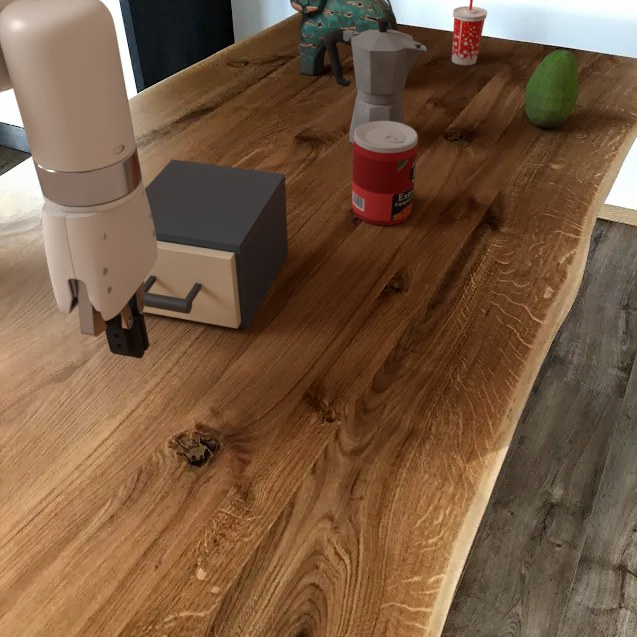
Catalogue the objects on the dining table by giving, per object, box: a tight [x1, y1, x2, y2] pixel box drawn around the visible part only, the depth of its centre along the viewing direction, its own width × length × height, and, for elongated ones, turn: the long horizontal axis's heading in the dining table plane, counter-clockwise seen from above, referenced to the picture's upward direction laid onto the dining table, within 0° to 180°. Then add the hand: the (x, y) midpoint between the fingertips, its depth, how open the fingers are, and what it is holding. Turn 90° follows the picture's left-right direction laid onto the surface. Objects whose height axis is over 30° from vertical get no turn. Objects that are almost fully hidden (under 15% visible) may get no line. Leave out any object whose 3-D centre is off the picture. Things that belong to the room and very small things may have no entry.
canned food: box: [351, 121, 419, 226], centre depth 93 cm, size 8×8×11 cm
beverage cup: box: [451, 0, 488, 66], centre depth 133 cm, size 6×6×14 cm
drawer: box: [141, 240, 241, 329], centre depth 79 cm, size 18×13×9 cm
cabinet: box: [145, 159, 289, 330], centre depth 81 cm, size 15×14×11 cm
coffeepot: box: [325, 18, 428, 145], centre depth 108 cm, size 15×9×18 cm, turn 65°
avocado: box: [523, 49, 580, 129], centre depth 112 cm, size 8×8×12 cm
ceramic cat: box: [289, 0, 399, 77], centre depth 125 cm, size 20×6×20 cm, turn 61°
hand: (130, 350), depth 67 cm, fingers closed
